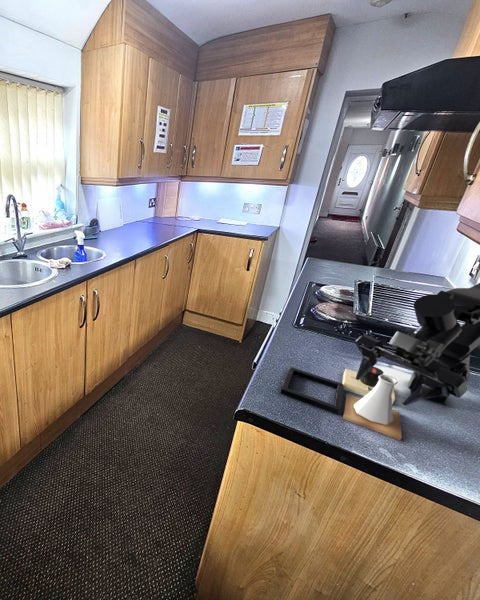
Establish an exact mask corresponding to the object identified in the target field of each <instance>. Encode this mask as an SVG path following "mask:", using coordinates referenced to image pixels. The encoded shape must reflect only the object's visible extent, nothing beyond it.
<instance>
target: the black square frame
mask: <svg viewBox="0 0 480 600" xmlns="http://www.w3.org/2000/svg"><path fill="white" fill-rule="evenodd" d="M293 376H297V377H298V378H302V379H305V380H307V381H311V382H314V383H317V384H320V385H323V386H326V387H329V388H332V389H335V397H334V403H333V404H332V403H330V402H326V401H324V400H322V399H318V398H316V397H313V396H310V395H307V394H304V393H302V392H299V391H296V390H293V389H290V388H289V385H290V383H291V380H292V377H293ZM280 394H281V395H284V396H287V397H289V398H292V399H295V400H297V401H300V402H302V403H305V404H308V405H311V406H313V407H316V408H319V409H321V410H324V411H326V412H329V413H332V414H335V415H339V413H340V411H341V409H342V404H343V397H344V386H343V384H342V382H338V381H335V380H332V379H329V378H326V377H323V376H320V375H317V374H314V373H311V372H308V371H304V370H302V369H298V368H295V367H293V366H290V367H289V368H288V370H287V373H286V375H285V378H284V381H283V383H282V385H281V389H280Z"/></svg>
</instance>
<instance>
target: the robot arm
mask: <svg viewBox="0 0 480 600" xmlns="http://www.w3.org/2000/svg"><path fill="white" fill-rule="evenodd" d="M413 309H414V313H415V317H416V321H417V323H418V325H419V326H418V327H417V328H416V329H414V331H410V332H408V333H407V334H406V333H404V332H401V331H398V330H396V332H395V333H394V335H393V336H392V338H391V339H390V340H389V342H388V345H390V346H391V348H392V350H389V349H387V348H385V347H384V345H383V342H382V341H381V340H379V339H377V338H375V337H373V336H370V335H367V334H364V335H363V334H362V335H360V336H358V337H357V338H356V339H355V340H354V343H355V345H356V347H357V349H358V351H359V352H360V354H361V361H360V364H359V367H358V369H357V371H356V372H357V375H356V379H357V380H360V379H361V378H362V377H363V376H364V375H365V374H366V373H367V372H368V371H369V370H370V369H371V368H372V367H375V366H376V364H377V363H378V359H381V357H383V358H384V359H387V360H388V361H392V362H393V363H396V364H398V365H400V366H402V367H404V368H406V369H408V370H411V371H413V372H412V374H411V375H410V378H409V380H408V382H407V388H408V390H409V395H408V396H407V397H406V398H405V399H404V400H403V401H402V405H403V406H405V407H406V406H408V405H412V404H415V403H418V402H421V401H424V400H426V401H428V402H432V403H434V404H438V405H440V406H441V405H442V406H446V407H447V406H448V401H447V399H448V398H449V397H450V395H451V396H452V397H455V398H458V399H460V398H461V397H463V396H464V395H465V393H466V392H467V391H468V383H467V382H468V381H469V378H470V376H471V371H470V370H471V369H470V359H471V353H472V351H473V350H474V349H475V348H477V347H478V346H479V345H480V282H479V283H476V284H474V285H473V286H471V287H456V288H453V289H449V290H447V291H445V290H440V291H439V292H437V293H431V294H426V295H423V296H420V297H418V298H416V300H414V303H413ZM458 321H460V322H463V324H462V325H461V323H460V322H458Z"/></svg>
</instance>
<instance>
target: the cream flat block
mask: <svg viewBox="0 0 480 600" xmlns="http://www.w3.org/2000/svg"><path fill="white" fill-rule="evenodd" d="M357 372H358V371H356V370H351V369H350V368H349V369H348V368H345V369H344V371H343V374H342V382H341V383H342V384H343V386H344V389H343V391H347V392H350V393H353V394H356V395H359V396H362V397H364V396H366V395H367V394H368V393H369V392H370V391H371V390H373V388H374V387H371V386H367V385H365V384H363V383H362V382H361V381H360V380H357V379H356V375H357ZM395 394H396V393H395V386H394V387H393V390H392V396H391V397H392V405H393V404H394V402H395V401H396V396H395Z"/></svg>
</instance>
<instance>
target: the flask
mask: <svg viewBox="0 0 480 600" xmlns="http://www.w3.org/2000/svg"><path fill="white" fill-rule="evenodd" d="M378 378H379V381H378V383H377V385H376V386H375V387H374V388H373V390H371V391H370V392H369V393H368V394H367V395H366V396H362V398H360V400H359V401H358V402H357V403H355V404H354V405H353V406H354V408H355V410H356V413H357V414H359V415H361V416H363V417H365V418H367V419H368V420H370V421H373V422H377V423H381V424H385V425H388V424H389V423H391V422H392V421H393V411H392V409H393V404H392V397H391V396H392V390H393V387H394V388H395V386H396V385H397V384H398V383H399V382H398V380H397V378H395V377H393V376H390V375H388V374H384V373H383V374H381V375H380V376H379V377H378Z"/></svg>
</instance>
